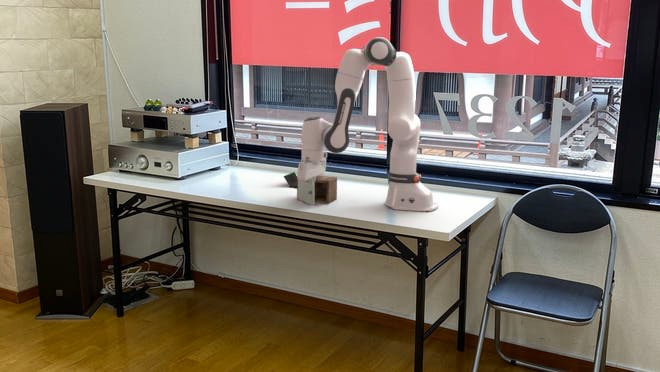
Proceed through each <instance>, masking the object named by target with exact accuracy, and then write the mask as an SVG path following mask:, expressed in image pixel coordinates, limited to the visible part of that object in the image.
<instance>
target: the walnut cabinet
mask: <svg viewBox="0 0 660 372" xmlns="http://www.w3.org/2000/svg"><path fill="white" fill-rule="evenodd" d="M306 182H308V181H306ZM314 184H315V203H318V204H325V205H329V204H331V203H333V202H335V201H337V200H338V197H337V196H338V177H337V176H328V175H320V176H317V177H316V180H315V183H314ZM296 200H297V201H300V202H302V201H301V200H299V199H298V179H297V188H296Z"/></svg>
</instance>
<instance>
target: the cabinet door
mask: <svg viewBox="0 0 660 372" xmlns="http://www.w3.org/2000/svg"><path fill="white" fill-rule="evenodd" d="M298 199H299V200H301V201H300V202H303V203H306V204H308V205H312V206H315V203H316V202H315V184H312V183H309V182H306V181H298ZM299 200H298V201H299Z"/></svg>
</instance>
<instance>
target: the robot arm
mask: <svg viewBox="0 0 660 372" xmlns="http://www.w3.org/2000/svg"><path fill="white" fill-rule="evenodd" d="M341 58H342V59H341V61H340V63H339V66H338V70H337V72H336V76H335V82H334V83H335V85H334V89H335V94H336V98H337V99H336V100H337V105H336V106H337V107H336V111H335V115H334V119H333V123H331V122H329V121H327V120H325V119H324V118H323V117H320V116H312V117H308V118H306V119H305V120H304V121H303V123H302V129H301V140H302V145H301V161H300V162H299V163H298V165H297V166H298V167H297V174H296V175H297V179H298V181H308V182H309V183H312V184H314V183H315V180H316V177H317V176H323V175H324V174H325V173H326V170H327V158H328V153H327V152H326V151H324V150H323V149H324V147H325V148H326V150H328V151H329V152H330V153H332V154H333V153H334V154H342V153H343V152H344V151H346V150H347V148H348V147H349V143H350V134H349V126H350V122H351V118H352V114H353V110H354V105H355V103H356V100H357V98H358V95H359V94H360V90H361V88H362V84H363V83H364V79H365V76H366V75H365V74H366V72H367V70H368V68H369V67H370V66H383V67H384V68H385V70H386V71H385V72H386V76H387V77H386V78H387V80H386V81H387V90H388V111H387V112H388V113H387V114H388V115H387V119H388V120H387V121H388V122H387V124H388V125H387V134H388V135H389V136H390V138H391V139H392V145H391V150H390V154H389V155H390V157H389V171H388V175H387V176H388V177H387V184H388V189H387V194H386V198H385V202H384V205H385V206H387V207H389V208H391V209H393V210H398V211H399V210H400V211H401V210H402V211H413V212H414V211H415V212H416V211H417V212H426V211H429V212H433V211H435V210H437V209H438V207H439V203H438V202H435V201H434V196H433V193H432V190H430V189H429V188H428V187H427V186H426V185H425V184H423V183H422V182H421V177H422V175H421V173H420V174H419V173H418V172H417V161H418V160H417V159H418V158H417V157H418V156H417V155H418V148H419V141H420V132H421V126H422V125H421V120H420V118H419V117H418V115H416V114H415V113H416V112H415V111H416V97H417V95H416V85H415V84H416V82H415V81H416V80H415V71H414V66H413V63H412V59H411V56H410V54H408V53H406V52H404V51H397V50H396V49H395V47H394V46H393V44H392V43H391V42H390V41H389V40H388V39H387V38H385V37H382V36H377V37H372V38H371V39H370V40H369V41H368V42H367V43H366V44H365V45H364V46H363V48H362V49H359V48H350V49H347V50H346V51H345V53H344V55H343V56H342V57H341Z"/></svg>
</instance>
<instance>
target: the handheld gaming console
mask: <svg viewBox="0 0 660 372" xmlns="http://www.w3.org/2000/svg"><path fill="white" fill-rule="evenodd" d="M283 178H284V181H286V183H287V184H288V186H289V188H290V189H291V188H292V189H297V174H296V172H294V171H293V172H290V173H289V174H286V175H284V176H283Z"/></svg>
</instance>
